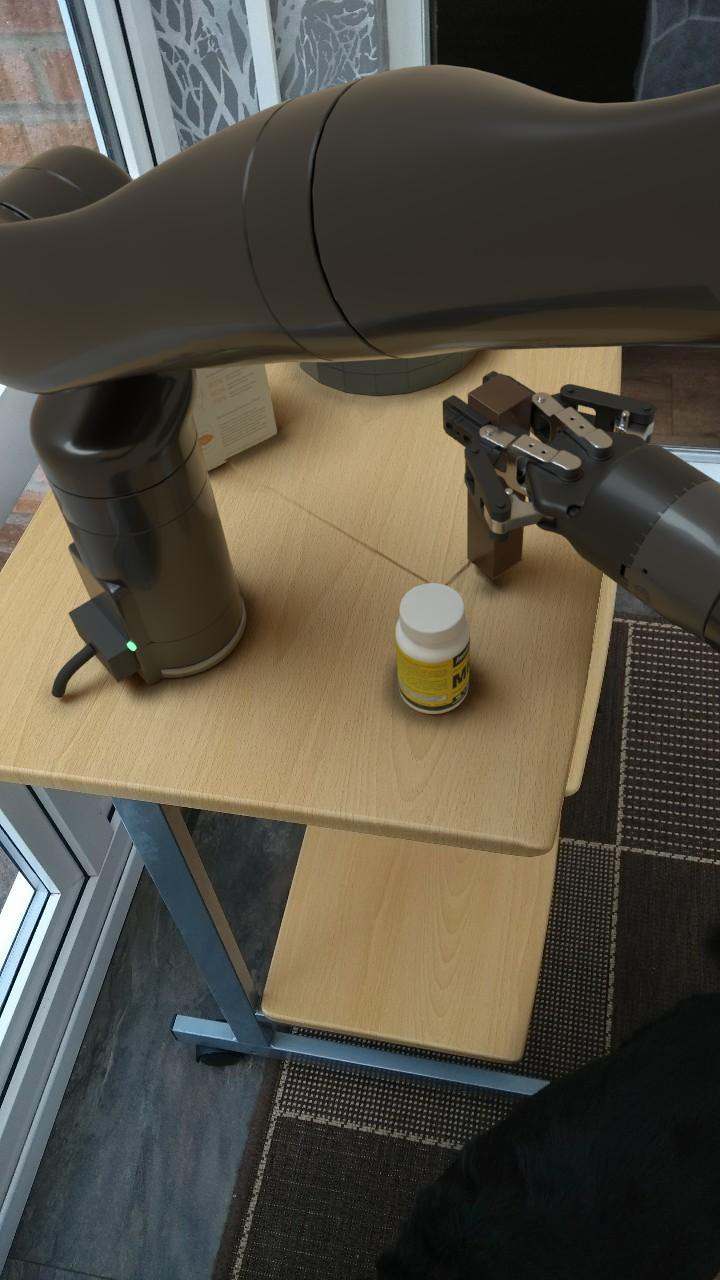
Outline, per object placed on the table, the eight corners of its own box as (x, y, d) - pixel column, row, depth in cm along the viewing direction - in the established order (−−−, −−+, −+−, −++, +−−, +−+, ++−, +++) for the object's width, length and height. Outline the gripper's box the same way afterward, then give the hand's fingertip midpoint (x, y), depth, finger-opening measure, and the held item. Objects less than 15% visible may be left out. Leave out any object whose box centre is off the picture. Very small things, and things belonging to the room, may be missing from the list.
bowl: (373, 428, 85) (368, 380, 81) (254, 338, 93) (245, 290, 89) (522, 339, 90) (525, 289, 86) (398, 261, 99) (395, 213, 95)
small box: (243, 399, 88) (214, 264, 78) (280, 438, 85) (255, 302, 74) (160, 438, 86) (119, 304, 76) (194, 480, 82) (156, 345, 72)
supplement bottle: (463, 720, 67) (464, 642, 60) (392, 711, 67) (385, 633, 61) (473, 662, 69) (475, 581, 63) (405, 653, 70) (400, 573, 64)
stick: (493, 580, 72) (499, 414, 60) (466, 558, 74) (467, 392, 62) (522, 560, 73) (533, 393, 61) (495, 539, 75) (500, 372, 63)
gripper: (779, 430, 55) (549, 298, 64) (598, 562, 50) (377, 399, 59) (748, 527, 61) (541, 394, 70) (583, 653, 56) (385, 492, 65)
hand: (467, 397), depth 65 cm, fingers closed on stick, 2 cm apart
